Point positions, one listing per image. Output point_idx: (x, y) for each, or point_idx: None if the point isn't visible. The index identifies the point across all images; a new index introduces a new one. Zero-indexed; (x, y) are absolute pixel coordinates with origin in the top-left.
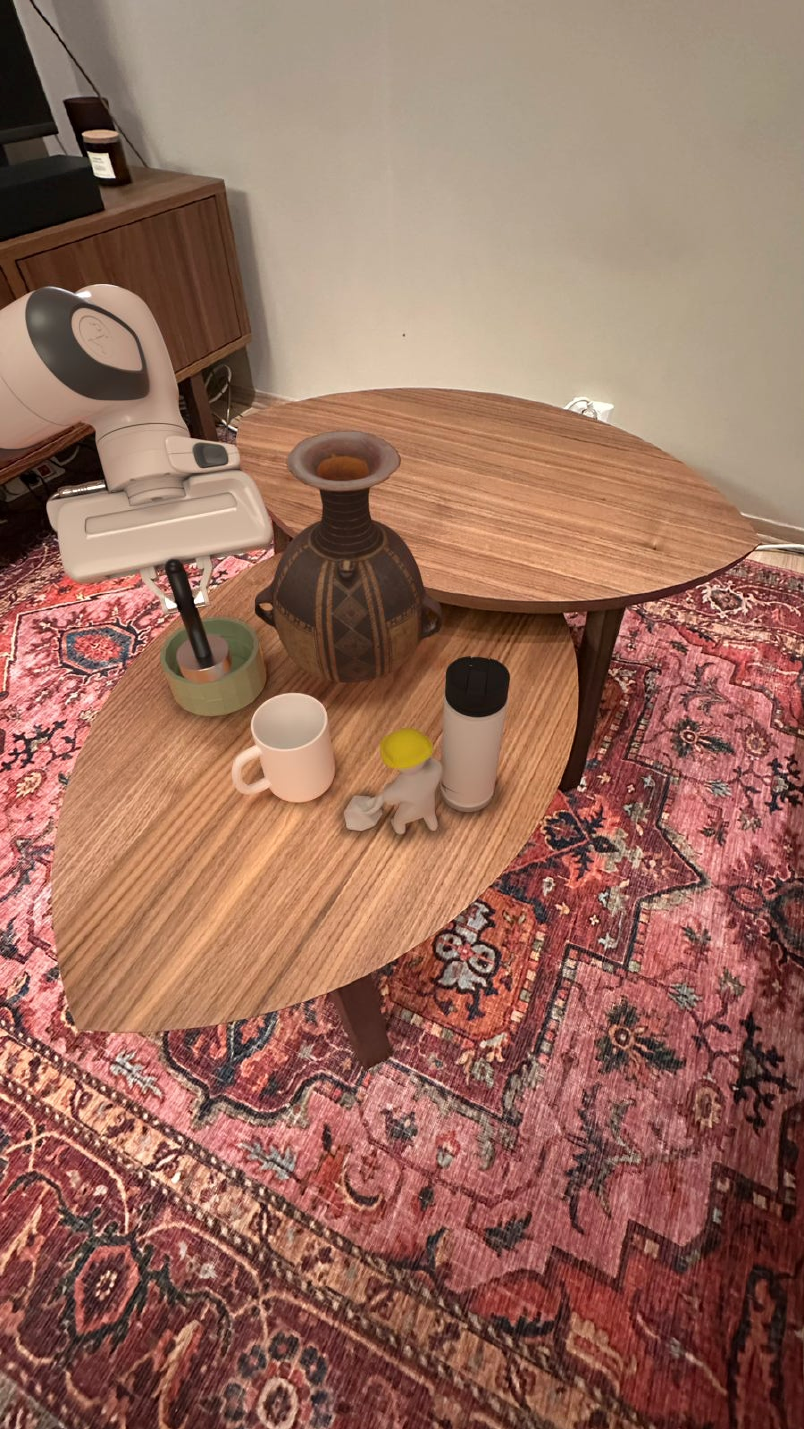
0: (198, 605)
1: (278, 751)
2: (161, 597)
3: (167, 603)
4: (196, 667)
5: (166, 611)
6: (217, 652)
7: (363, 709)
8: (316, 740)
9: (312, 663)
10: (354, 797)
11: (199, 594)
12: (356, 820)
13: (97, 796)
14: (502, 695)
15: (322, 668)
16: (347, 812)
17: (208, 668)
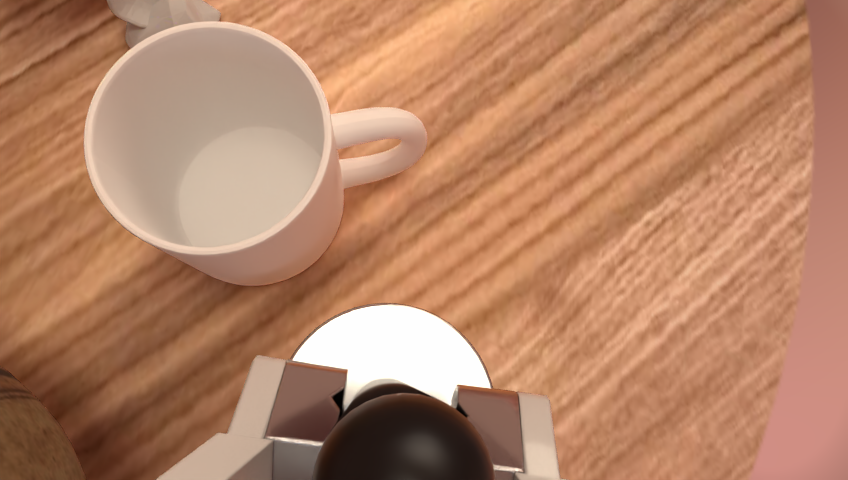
0: (329, 366)
1: (283, 44)
2: (542, 463)
3: (511, 425)
4: (433, 331)
5: (525, 395)
6: None
7: (10, 338)
8: (165, 31)
9: (34, 417)
10: None
11: (293, 404)
12: (192, 3)
13: (730, 365)
14: None
15: (16, 389)
16: None
17: (390, 304)
